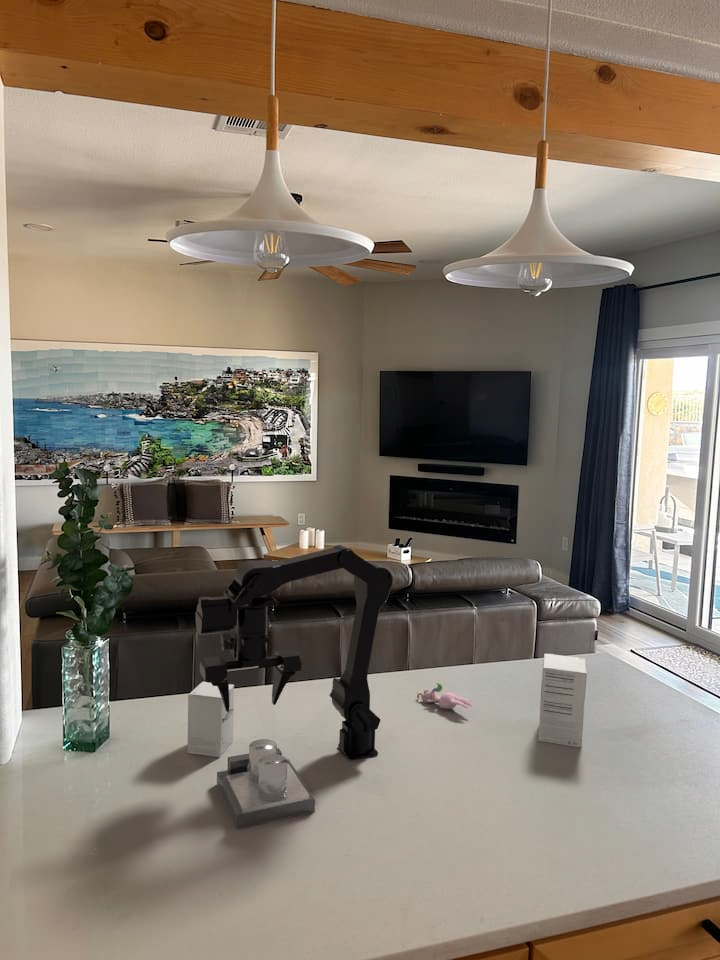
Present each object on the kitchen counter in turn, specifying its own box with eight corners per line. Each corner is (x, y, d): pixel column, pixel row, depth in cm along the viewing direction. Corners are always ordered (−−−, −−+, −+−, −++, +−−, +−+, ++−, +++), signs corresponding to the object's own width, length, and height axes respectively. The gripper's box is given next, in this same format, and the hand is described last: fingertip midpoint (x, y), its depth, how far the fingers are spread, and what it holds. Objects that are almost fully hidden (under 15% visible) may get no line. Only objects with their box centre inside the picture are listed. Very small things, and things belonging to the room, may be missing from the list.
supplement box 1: (220, 758, 144) (221, 698, 143) (186, 753, 146) (186, 693, 144) (234, 741, 152) (235, 684, 150) (201, 737, 153) (202, 680, 152)
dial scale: (288, 770, 140) (288, 746, 140) (314, 811, 127) (315, 785, 126) (216, 784, 135) (217, 758, 134) (236, 828, 121) (237, 800, 121)
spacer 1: (279, 780, 131) (280, 749, 130) (252, 786, 129) (253, 754, 128) (271, 767, 135) (272, 737, 134) (245, 772, 133) (246, 741, 132)
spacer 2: (290, 798, 125) (291, 765, 124) (262, 803, 123) (263, 770, 122) (281, 783, 130) (282, 752, 129) (254, 789, 128) (255, 757, 127)
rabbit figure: (413, 707, 175) (462, 718, 164) (411, 682, 175) (460, 692, 164) (429, 700, 179) (478, 710, 168) (427, 676, 179) (476, 685, 168)
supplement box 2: (539, 722, 165) (543, 652, 163) (581, 729, 163) (586, 657, 161) (537, 741, 156) (542, 666, 154) (582, 748, 153) (587, 672, 151)
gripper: (285, 612, 148) (284, 685, 149) (194, 621, 140) (193, 697, 142) (303, 628, 137) (301, 706, 139) (206, 639, 130) (205, 721, 132)
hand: (250, 707), depth 138 cm, fingers open, 9 cm apart
